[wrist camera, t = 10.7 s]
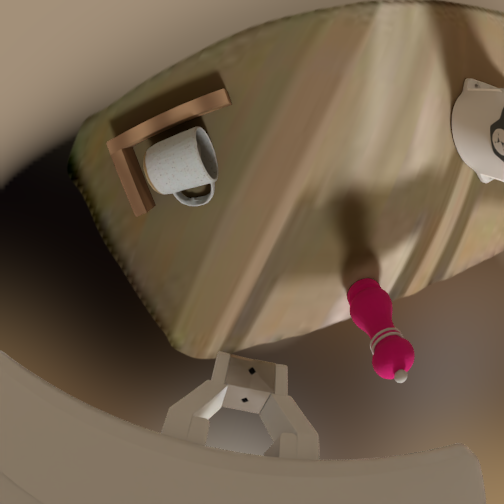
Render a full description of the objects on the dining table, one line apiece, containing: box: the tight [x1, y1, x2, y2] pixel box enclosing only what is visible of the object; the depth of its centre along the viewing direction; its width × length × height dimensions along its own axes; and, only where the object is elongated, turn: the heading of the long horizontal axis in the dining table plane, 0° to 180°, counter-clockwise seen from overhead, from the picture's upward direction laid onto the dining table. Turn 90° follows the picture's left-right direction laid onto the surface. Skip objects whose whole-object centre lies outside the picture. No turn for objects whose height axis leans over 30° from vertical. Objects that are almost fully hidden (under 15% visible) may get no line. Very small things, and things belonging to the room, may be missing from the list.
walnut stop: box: [106, 88, 232, 217], centre depth 35 cm, size 18×12×4 cm, turn 108°
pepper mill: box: [347, 278, 414, 383], centre depth 36 cm, size 7×7×20 cm
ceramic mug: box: [143, 126, 218, 206], centre depth 34 cm, size 11×8×8 cm
